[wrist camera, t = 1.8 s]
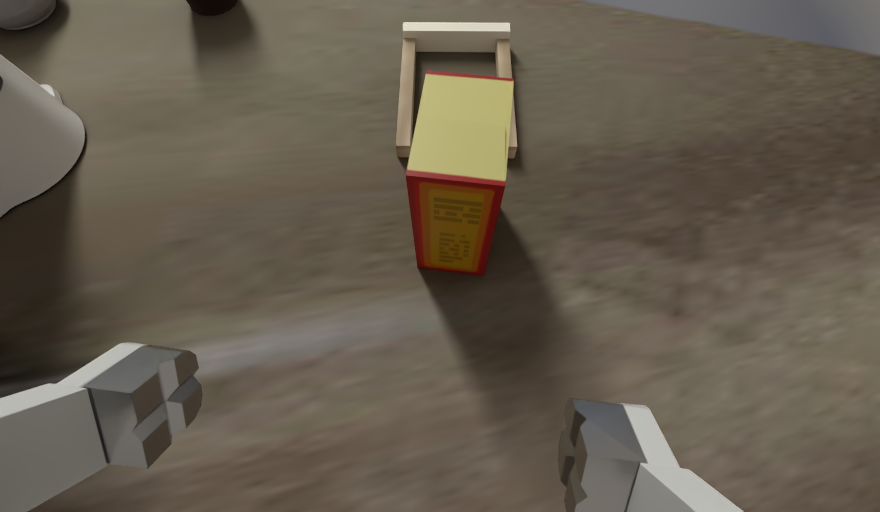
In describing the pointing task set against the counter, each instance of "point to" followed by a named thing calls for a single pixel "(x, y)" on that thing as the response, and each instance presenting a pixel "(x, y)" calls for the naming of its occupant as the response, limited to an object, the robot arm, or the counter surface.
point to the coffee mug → (211, 6)
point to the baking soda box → (458, 169)
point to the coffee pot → (24, 13)
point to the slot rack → (448, 40)
